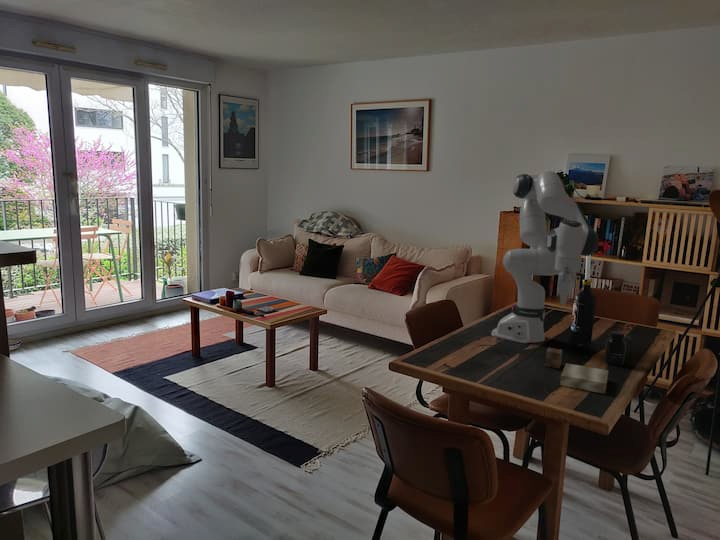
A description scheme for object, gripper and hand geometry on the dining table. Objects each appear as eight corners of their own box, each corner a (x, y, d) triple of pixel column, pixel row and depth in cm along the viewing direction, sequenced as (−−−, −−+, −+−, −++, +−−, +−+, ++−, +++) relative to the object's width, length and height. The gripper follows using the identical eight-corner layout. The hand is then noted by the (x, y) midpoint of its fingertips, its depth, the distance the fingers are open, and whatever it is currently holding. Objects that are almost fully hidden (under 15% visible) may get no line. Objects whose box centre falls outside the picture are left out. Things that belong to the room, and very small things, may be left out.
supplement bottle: (615, 367, 205) (619, 336, 203) (600, 361, 211) (603, 331, 208) (627, 364, 208) (631, 334, 206) (612, 358, 214) (615, 329, 212)
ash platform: (559, 386, 185) (561, 375, 185) (565, 373, 198) (566, 363, 197) (604, 395, 179) (606, 383, 178) (607, 381, 191) (608, 370, 191)
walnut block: (544, 366, 203) (546, 351, 202) (547, 362, 208) (548, 347, 206) (559, 369, 201) (560, 353, 200) (560, 365, 205) (562, 349, 204)
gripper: (574, 269, 188) (570, 309, 190) (579, 263, 206) (576, 299, 209) (554, 268, 191) (551, 306, 193) (561, 261, 209) (558, 297, 211)
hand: (564, 302), depth 201 cm, fingers open, 8 cm apart
